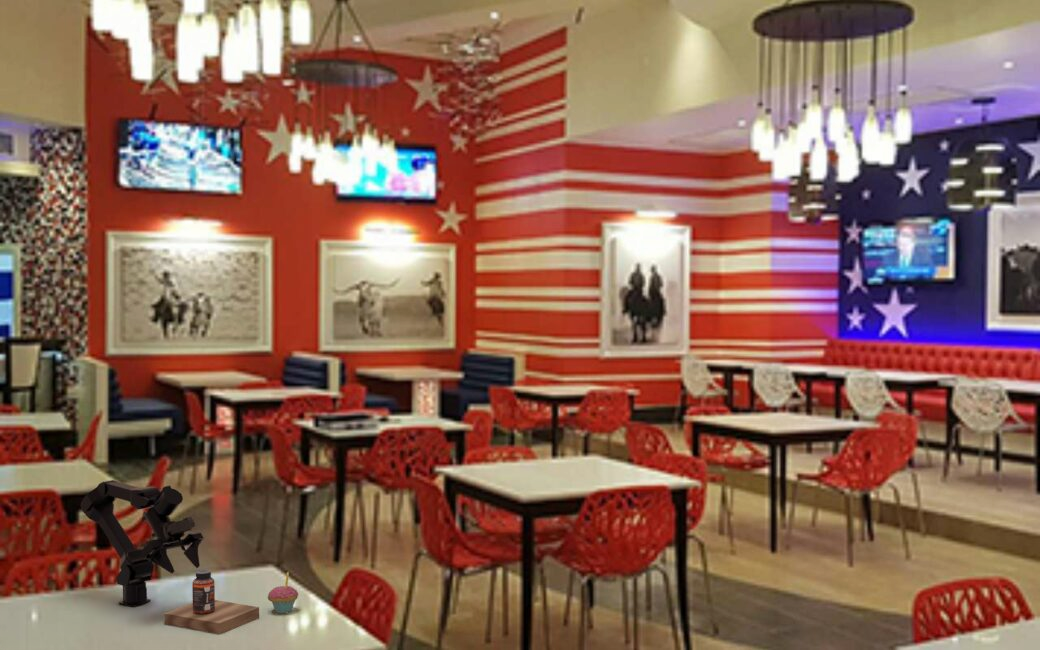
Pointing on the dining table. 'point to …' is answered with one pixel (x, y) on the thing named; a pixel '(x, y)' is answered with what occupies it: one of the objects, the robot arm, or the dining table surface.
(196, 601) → the supplement bottle
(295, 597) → the cupcake
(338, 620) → the dining table surface
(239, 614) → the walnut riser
